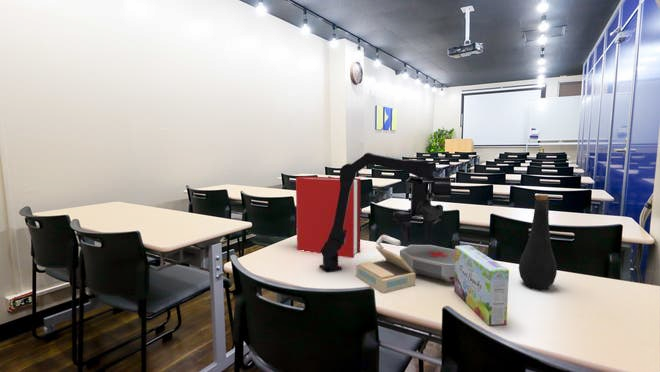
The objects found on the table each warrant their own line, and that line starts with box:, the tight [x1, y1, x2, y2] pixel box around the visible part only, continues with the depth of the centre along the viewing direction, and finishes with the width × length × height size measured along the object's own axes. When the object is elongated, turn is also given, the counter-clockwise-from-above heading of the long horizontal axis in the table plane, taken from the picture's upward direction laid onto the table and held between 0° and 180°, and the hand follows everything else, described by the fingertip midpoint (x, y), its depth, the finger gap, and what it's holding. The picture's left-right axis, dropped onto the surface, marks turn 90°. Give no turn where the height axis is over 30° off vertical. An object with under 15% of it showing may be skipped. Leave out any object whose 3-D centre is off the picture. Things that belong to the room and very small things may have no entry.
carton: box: [355, 258, 416, 294], centre depth 118 cm, size 16×13×5 cm
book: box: [295, 175, 362, 259], centre depth 149 cm, size 27×8×32 cm, turn 66°
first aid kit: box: [399, 244, 455, 283], centre depth 124 cm, size 18×8×25 cm
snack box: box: [453, 245, 510, 327], centre depth 98 cm, size 21×6×15 cm, turn 4°
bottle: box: [518, 193, 558, 291], centre depth 111 cm, size 11×11×30 cm
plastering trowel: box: [375, 234, 414, 273], centre depth 119 cm, size 14×11×5 cm
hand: (417, 238), depth 124 cm, fingers open, 9 cm apart
